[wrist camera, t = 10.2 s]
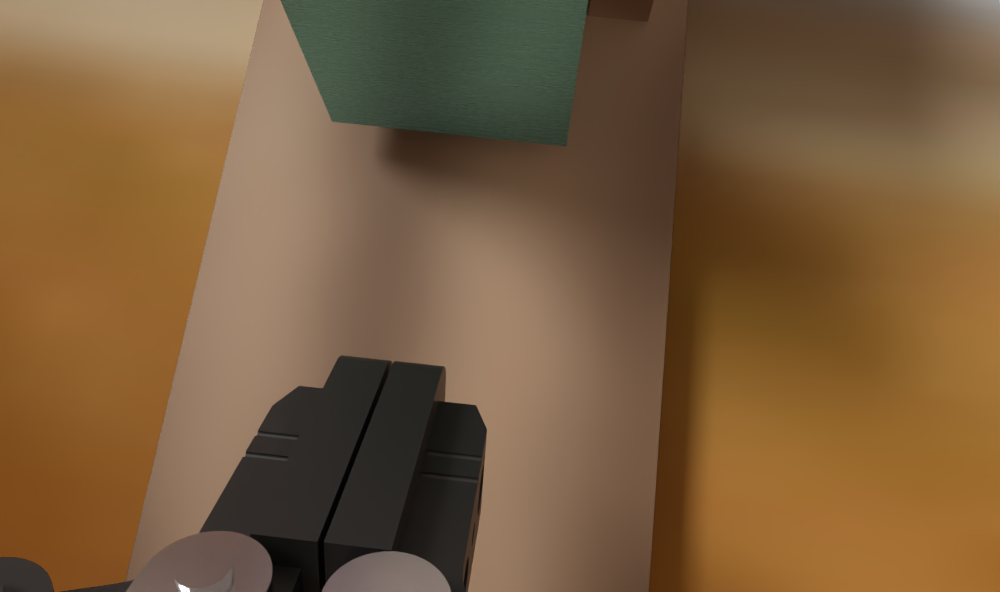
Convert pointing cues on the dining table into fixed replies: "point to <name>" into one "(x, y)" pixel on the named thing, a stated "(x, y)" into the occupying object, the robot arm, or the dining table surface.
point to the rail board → (451, 296)
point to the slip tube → (446, 64)
